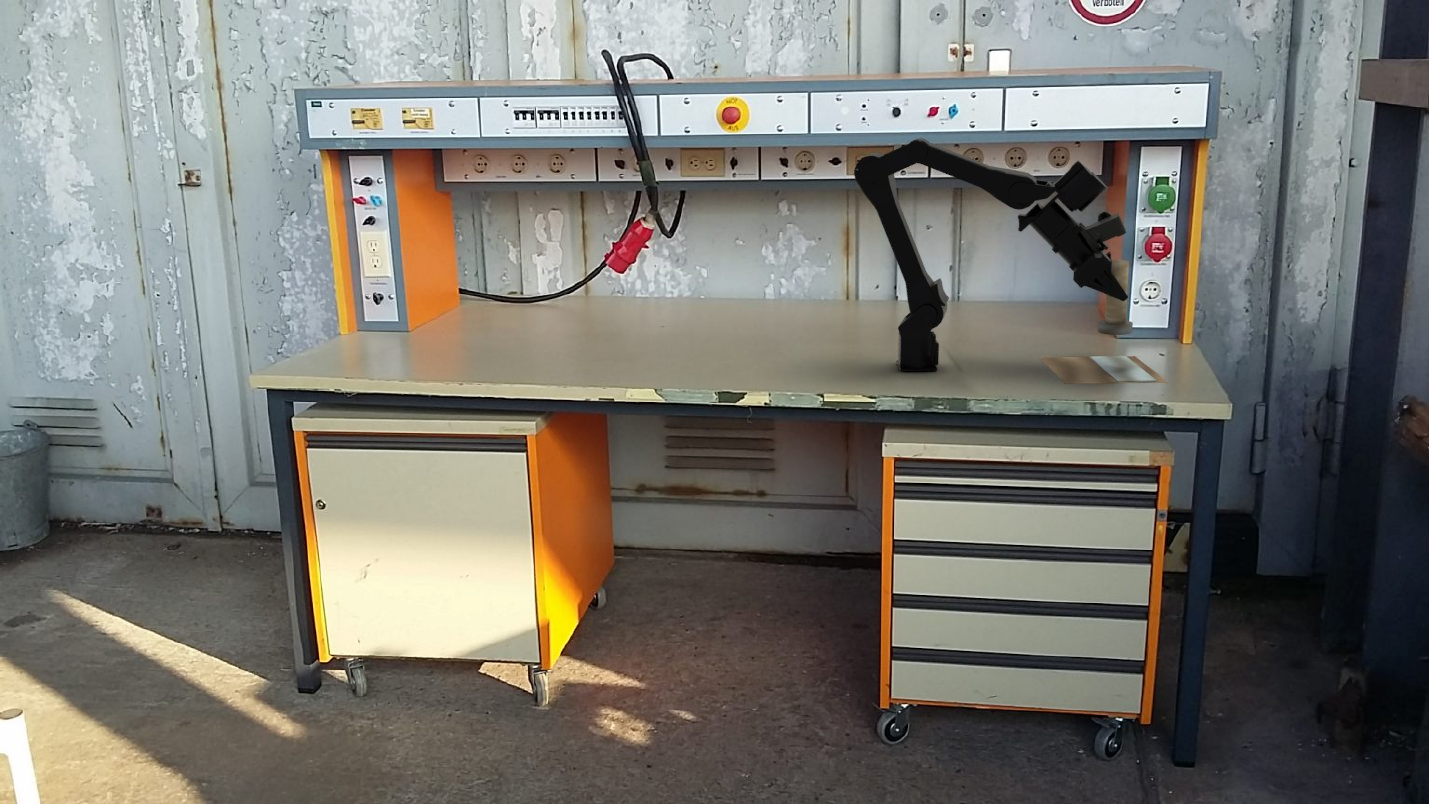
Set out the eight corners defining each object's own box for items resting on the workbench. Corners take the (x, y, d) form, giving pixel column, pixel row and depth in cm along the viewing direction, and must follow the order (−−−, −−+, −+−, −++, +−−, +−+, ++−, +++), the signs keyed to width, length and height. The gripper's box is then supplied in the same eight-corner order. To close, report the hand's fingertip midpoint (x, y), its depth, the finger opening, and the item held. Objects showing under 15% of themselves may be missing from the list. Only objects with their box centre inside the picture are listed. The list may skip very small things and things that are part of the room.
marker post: (1100, 335, 206) (1104, 264, 203) (1095, 328, 211) (1098, 259, 208) (1135, 334, 205) (1139, 263, 202) (1128, 327, 211) (1132, 258, 208)
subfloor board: (1064, 390, 202) (1065, 382, 202) (1038, 364, 220) (1039, 356, 219) (1168, 389, 202) (1168, 380, 202) (1134, 362, 219) (1134, 355, 219)
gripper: (1098, 204, 195) (1167, 273, 195) (1097, 191, 212) (1160, 255, 212) (1045, 252, 199) (1112, 321, 199) (1048, 236, 216) (1110, 299, 216)
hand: (1125, 297), depth 206 cm, fingers closed on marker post, 3 cm apart
